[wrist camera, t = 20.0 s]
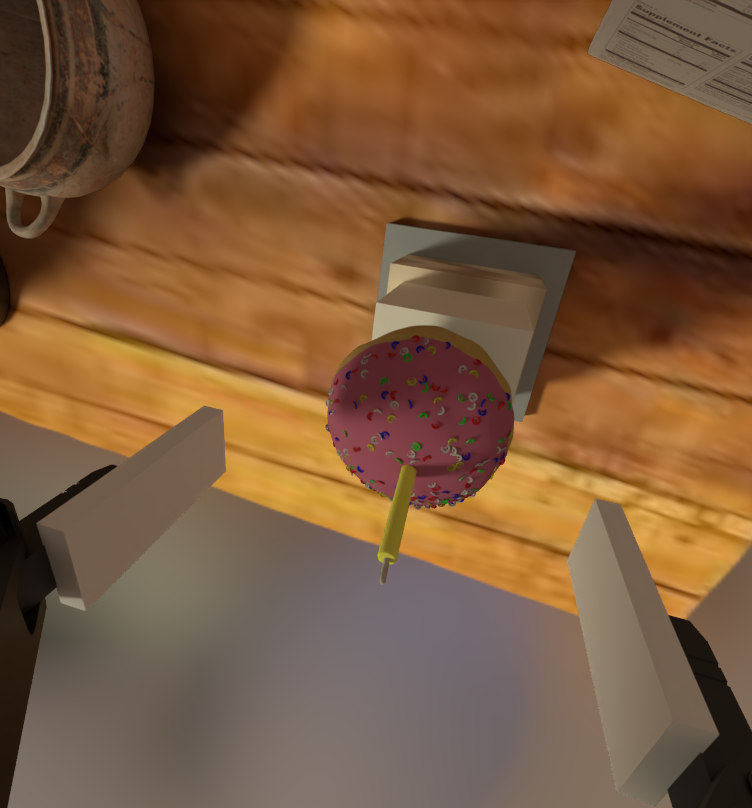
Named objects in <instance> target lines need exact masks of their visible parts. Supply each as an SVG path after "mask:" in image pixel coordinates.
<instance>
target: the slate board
mask: <svg viewBox="0 0 752 808" xmlns="http://www.w3.org/2000/svg"><path fill="white" fill-rule="evenodd" d="M575 253H576V251H574V250H570V249H563V248H557V247H550V246H543V245H536V244H530V243H523V242H516V241H510V240H503V239H496V238H489V237H483V236H476V235H469V234H463V233H456V232H449V231H442V230H436V229H429V228H422V227H416V226H409V225H402V224H395V223H387V225H386V233H385V241H384V249H383V258H382V266H381V274H380V282H379V290H378V298H377V302H378V301H379V300H380V299H382V298H383V297H384V296H385V295H386V294H387V286H388V279H389V271H390V264H391V263H392V262H394V261H396V260H398V259H400V258H402V257H404V256H406V255H408V254H409V255H415V256H421V257H427V258H434V259H440V260H446V261H452V262H458V263H464V264H471V265H477V266H483V267H489V268H495V269H502V270H508V271H514V272H520V273H526V274H533V275H539V276H540V278H541V280H542V282H543V283H544V285H545V287H546V289H547V290H546V293H545V297H544V300H543V303H542V307H541V310H540V314H539V317H538V320H537V324H536V327H535V330H534V334H533V337H532V341H531V344H530V347H529V351H528V354H527V357H526V361H525V364H524V367H523V371H522V374H521V378H520V381H519V384H518V388H517V391H516V394H515V398H514V401H513V404H512V407H513V411H514V420H515V421H519V422H522V421H523V418H524V415H525V412H526V409H527V406H528V402H529V399H530V396H531V393H532V390H533V387H534V383H535V380H536V377H537V374H538V371H539V367H540V364H541V361H542V358H543V355H544V352H545V348H546V345H547V342H548V339H549V336H550V333H551V329H552V326H553V323H554V320H555V317H556V314H557V310H558V307H559V304H560V301H561V298H562V295H563V291H564V288H565V285H566V282H567V279H568V275H569V272H570V269H571V266H572V263H573V260H574V256H575Z"/></svg>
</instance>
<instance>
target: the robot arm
mask: <svg viewBox="0 0 752 808" xmlns="http://www.w3.org/2000/svg"><path fill="white" fill-rule="evenodd" d="M8 307H9V289H8V283H7V278H6V275H5V271H4V268H3V266H2V263H1V261H0V325H1V324H2V322H3V321H4V319H5V317H6V315H7V312H8ZM225 471H226V466H225V445H224V424H223V410H220V409H216V408H211V407H207V406H203V407H202V408H200V409H199V410H197V411H196V412H195V413H193V414H192V415H190V416H189V417H187V418H186V419H185V420H183V421H182V422H180V423H179V424H177V425H176V426H175V427H173V428H172V429H170V430H169V431H167V432H166V433H165V434H163V435H162V436H160V437H159V438H157V439H156V440H155V441H153V442H152V443H150V444H149V445H147V446H146V447H145V448H143V449H142V450H140V451H139V452H137V453H136V454H135V455H133V456H132V457H130V458H129V459H127V460H126V461H125V462H123V463H122V464H120V465H119V466H115V465H109V466H107V467H104V468H102V469H99V470H96V471H94V472H92V473H90V474H89V475H88V476H86V477H85V478H83V479H81V480H80V481H79V482H77V484H76V485H72V486H71V487H70V488H68V489H67V490H65V492H64V493H61V494H59V495H58V496H56V497H55V498H53V499H52V500H50V501H49V502H47V503H46V504H44V505H43V506H41V507H40V508H38V509H37V510H35V511H34V512H32V513H31V514H29V515H28V516H27V517H25V518H23V519H22V520H20V521H19V519H18V516H17V513H16V510H15V508H14V505H13V503H12V502H10V501H9V500H7V499H2V498H0V808H7V806H8V801H9V796H10V791H11V786H12V781H13V776H14V770H15V766H16V761H17V755H18V750H19V745H20V740H21V735H22V729H23V725H24V720H25V714H26V709H27V704H28V699H29V694H30V689H31V684H32V679H33V674H34V668H35V663H36V658H37V653H38V648H39V643H40V638H41V633H42V628H43V622H44V617H45V612H46V600H45V597H46V596H47V595H48V594H49V593H50V592H51V591H53V590H54V589H55V588H57V591H58V594H59V597H60V600H61V603H64V604H66V605H69V606H72V607H75V608H78V609H81V610H84V611H87V610H88V609H89V608H90V606H91V605H93V604H94V603H95V602H96V601H97V600H98V599H99V598H100V596H102V595H103V594H104V593H105V591H106V590H108V588H109V587H111V585H112V584H113V583H115V582H116V581H117V579H119V578H120V577H121V576H122V575H123V574H124V572H126V571H127V570H128V569H129V568H130V567H131V566H132V564H134V562H135V561H137V560H138V559H139V558H140V557H141V556H142V555H143V553H145V552H146V551H147V550H148V548H149V547H150V546H152V544H153V543H154V542H155V541H156V540H157V539H158V538H159V537H160V536H161V535H162V534H163V533H164V532H165V531H166V530H167V529H168V528H169V527H170V526H171V525H172V524H173V523H174V522H175V521H176V520H177V519H178V518H179V517H180V516H181V515H182V514H183V513H184V512H185V511H186V510H187V509H188V508H189V507H190V506H191V505H192V504H193V503H194V502H195V501H196V500H197V499H198V498H199V497H200V496H201V495H202V494H203V493H204V492H205V491H206V490H207V489H208V488H209V487H210V486H211V485H212V484H213V483H214V482H215V481H216V480H217V479H218V478H219V477H220V476H221V475H222V474H223V473H224V472H225ZM568 566H569V571H570V575H571V580H572V585H573V590H574V594H575V599H576V604H577V608H578V613H579V618H580V622H581V627H582V632H583V637H584V641H585V645H586V651H587V655H588V660H589V664H590V669H591V674H592V679H593V684H594V688H595V693H596V698H597V702H598V707H599V712H600V717H601V721H602V726H603V731H604V735H605V740H606V745H607V749H608V754H609V759H610V764H611V768H612V773H613V778H614V782H615V787H616V792H617V793H619V794H622V795H625V796H628V797H631V798H634V799H637V800H640V801H643V802H645V803H649V804H652V805H654V806H656V805H657V804H658V802H659V801H660V800H661V799H662V798H663V797H664V796H665V795H666V794H667V793H669V797H670V800H671V803H672V807H673V808H752V731H751V729H750V727H749V725H748V723H747V721H746V719H745V717H744V715H743V713H742V711H741V709H740V707H739V705H738V702H737V700H736V698H735V696H734V694H733V692H732V691H731V688H730V687H729V686H727V680H726V678H725V676H724V674H723V672H722V670H721V668H718V662H717V660H716V658H715V656H714V654H713V652H712V650H711V648H710V646H709V644H708V642H707V641H706V640H705V638H704V637H703V636H702V635H701V634H700V633H699V631H698V630H697V629H696V628H695V627H694V626H693V624H692V623H691V622H690V621H688V620H684V619H681V618H677V617H673V616H670V615H668V614H667V612H666V609H665V607H664V605H663V602H662V600H661V598H660V595H659V593H658V591H657V588H656V586H655V584H654V581H653V579H652V577H651V574H650V572H649V570H648V567H647V565H646V563H645V560H644V558H643V556H642V553H641V551H640V549H639V546H638V544H637V542H636V539H635V537H634V535H633V532H632V530H631V528H630V525H629V523H628V521H627V518H626V516H625V514H624V511H623V509H622V507H621V505H620V504H616V503H612V502H608V501H604V500H599V499H595V500H594V502H593V505H592V507H591V509H590V511H589V513H588V516H587V518H586V520H585V522H584V525H583V527H582V529H581V531H580V534H579V536H578V538H577V540H576V543H575V545H574V547H573V549H572V552H571V554H570V556H569V558H568Z"/></svg>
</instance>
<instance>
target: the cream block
mask: <svg viewBox="0 0 752 808" xmlns="http://www.w3.org/2000/svg"><path fill="white" fill-rule="evenodd" d="M418 325H432V326H439V327H442V328H445V329H447V330H450V331H452V332H454V333H456V334H458V335H460V336H462V337H464V338H467V339H469V340H472V341H474V342H475V343H477V344H479V345H480V346H481V347H482V348H483V349H484V350H485V351H486V352H487V354H488V355H489V356H490V358H491V359H492V361H493V362H494V364H495V365H496V366H497V368H498V369H499V371H500V372H501V373H502V375H503V376H504V378H505V379H506V381H507V382H508V384H509V386H510V389H511V394H512V401H513V398H514V395H515V391H516V388H517V385H518V381H519V378H520V375H521V371H522V368H523V365H524V361H525V358H526V355H527V351H528V348H529V345H530V341H531V338H532V335H533V329H532V325H531V321H530V317H529V314H528V310H527V306H526V303H520V302H514V301H509V300H503V299H497V298H492V297H486V296H480V295H475V294H469V293H463V292H458V291H452V290H446V289H441V288H435V287H429V286H424V285H418V284H412V283H407V282H402V283H401V284H400V285H399V286H397V287H396V288H395V289H393V290H392V291H391V292H389V293H388V294H387V295H385V296H384V297H383V298H382V299H380V300H379V301H378V302H376V310H375V318H374V326H373V334H372V340H375V339H377V338H379V337H381V336H383V335H385V334H387V333H389V332H392V331H395V330H398V329H402V328H406V327H410V326H418Z"/></svg>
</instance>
